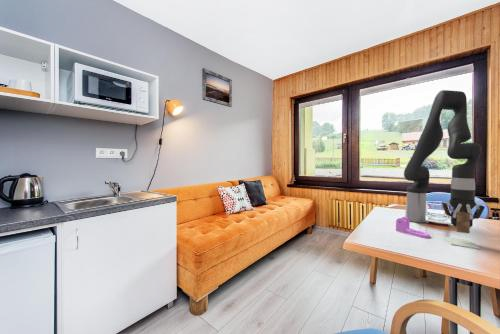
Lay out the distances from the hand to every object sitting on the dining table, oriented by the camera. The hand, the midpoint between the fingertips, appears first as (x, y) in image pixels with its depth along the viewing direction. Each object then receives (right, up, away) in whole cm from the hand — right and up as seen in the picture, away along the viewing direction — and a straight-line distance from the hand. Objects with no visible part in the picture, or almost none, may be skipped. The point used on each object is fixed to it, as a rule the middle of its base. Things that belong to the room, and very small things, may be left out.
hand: (461, 226), depth 93 cm
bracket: (-13, -7, +11) cm, 18 cm away
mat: (-1, -7, 0) cm, 7 cm away
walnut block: (0, -2, 0) cm, 2 cm away
